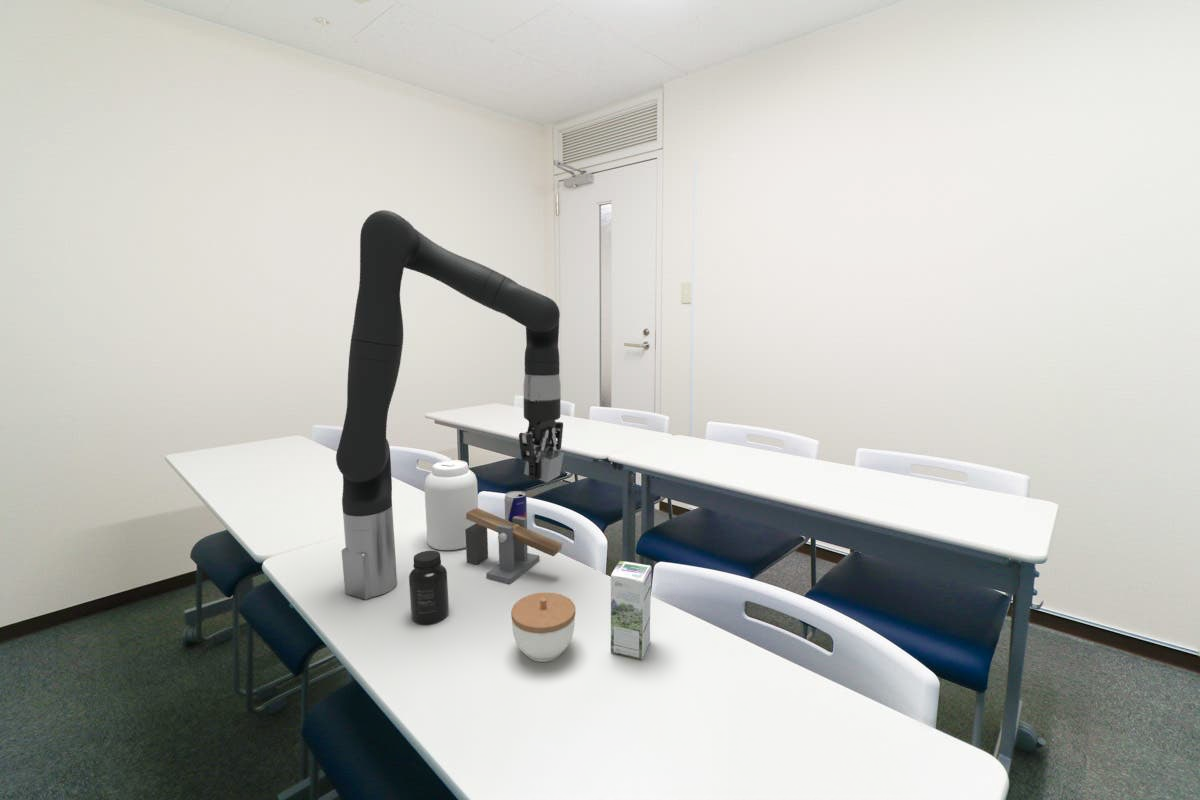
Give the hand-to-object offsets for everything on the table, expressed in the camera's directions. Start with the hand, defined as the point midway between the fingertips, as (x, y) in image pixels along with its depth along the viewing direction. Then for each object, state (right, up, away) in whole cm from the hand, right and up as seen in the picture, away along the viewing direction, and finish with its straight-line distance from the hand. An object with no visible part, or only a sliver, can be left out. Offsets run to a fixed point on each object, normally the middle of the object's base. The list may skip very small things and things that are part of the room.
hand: (542, 475), depth 113 cm
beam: (-7, -13, +6) cm, 16 cm away
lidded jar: (+3, -27, -21) cm, 34 cm away
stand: (-11, -22, +9) cm, 26 cm away
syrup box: (+17, -27, -20) cm, 38 cm away
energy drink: (-9, -20, +22) cm, 31 cm away
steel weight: (0, 0, 0) cm, 0 cm away
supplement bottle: (-20, -25, -11) cm, 34 cm away
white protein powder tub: (-24, -20, +22) cm, 38 cm away
